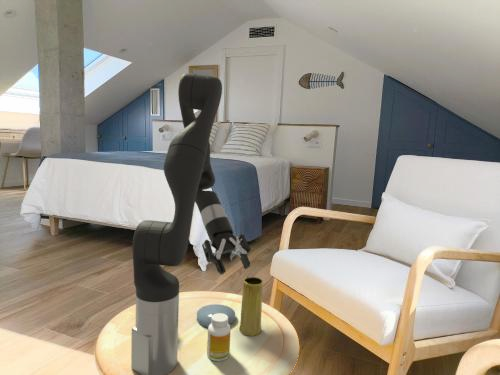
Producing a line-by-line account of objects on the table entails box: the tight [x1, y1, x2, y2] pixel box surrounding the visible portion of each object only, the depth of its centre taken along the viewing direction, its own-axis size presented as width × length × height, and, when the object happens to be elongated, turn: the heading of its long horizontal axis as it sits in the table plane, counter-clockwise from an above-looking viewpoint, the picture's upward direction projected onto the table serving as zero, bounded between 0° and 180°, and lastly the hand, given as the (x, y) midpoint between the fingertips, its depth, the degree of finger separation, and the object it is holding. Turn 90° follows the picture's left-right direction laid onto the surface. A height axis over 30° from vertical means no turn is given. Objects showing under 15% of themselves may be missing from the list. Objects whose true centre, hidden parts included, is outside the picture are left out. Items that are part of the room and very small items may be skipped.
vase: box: [239, 276, 264, 337], centre depth 95 cm, size 6×6×14 cm
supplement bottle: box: [206, 313, 232, 362], centre depth 84 cm, size 5×5×10 cm
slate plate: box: [196, 303, 236, 329], centre depth 101 cm, size 11×11×2 cm
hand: (235, 270), depth 100 cm, fingers open, 8 cm apart
